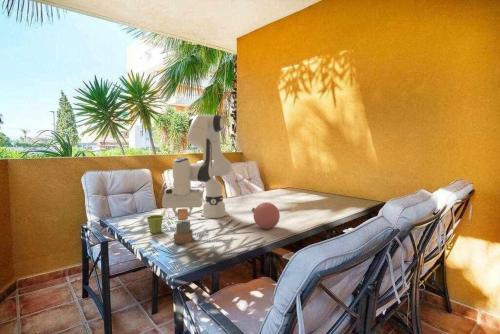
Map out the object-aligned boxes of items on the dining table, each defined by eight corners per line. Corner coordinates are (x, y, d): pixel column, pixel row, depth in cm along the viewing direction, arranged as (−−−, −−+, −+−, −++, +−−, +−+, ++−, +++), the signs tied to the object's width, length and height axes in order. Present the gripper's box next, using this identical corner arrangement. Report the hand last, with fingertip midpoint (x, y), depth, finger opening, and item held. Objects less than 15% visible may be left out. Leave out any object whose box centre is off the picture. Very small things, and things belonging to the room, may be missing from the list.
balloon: (262, 221, 186) (262, 198, 185) (285, 228, 170) (285, 203, 169) (243, 226, 176) (243, 201, 175) (265, 234, 161) (265, 206, 160)
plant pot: (146, 235, 161) (145, 219, 161) (147, 230, 170) (146, 215, 170) (164, 233, 164) (163, 218, 163) (164, 228, 173) (163, 214, 172)
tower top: (178, 229, 154) (178, 220, 154) (190, 229, 155) (190, 220, 154) (176, 233, 148) (176, 223, 148) (188, 233, 149) (188, 223, 148)
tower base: (177, 238, 156) (177, 229, 156) (192, 238, 156) (192, 229, 156) (174, 243, 148) (173, 234, 148) (189, 243, 148) (189, 233, 148)
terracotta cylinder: (179, 217, 153) (178, 208, 153) (188, 217, 153) (188, 208, 153) (177, 220, 148) (176, 210, 148) (186, 220, 148) (186, 210, 148)
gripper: (203, 188, 153) (203, 213, 154) (163, 188, 152) (164, 214, 154) (201, 190, 147) (202, 217, 148) (160, 190, 146) (161, 217, 147)
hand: (182, 215), depth 151 cm, fingers closed on terracotta cylinder, 5 cm apart
